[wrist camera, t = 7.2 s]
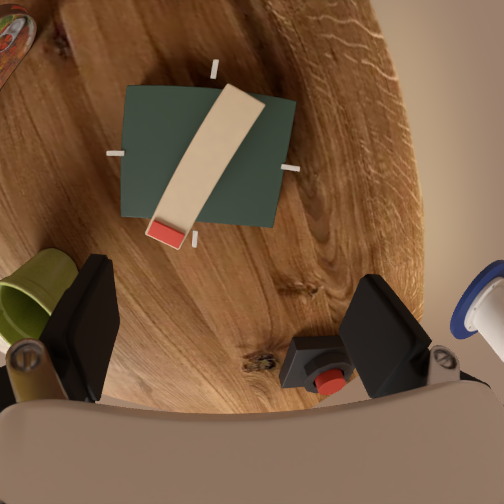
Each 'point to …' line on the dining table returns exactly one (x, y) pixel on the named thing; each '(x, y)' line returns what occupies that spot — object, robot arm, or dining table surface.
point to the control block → (314, 361)
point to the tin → (14, 37)
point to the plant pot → (34, 294)
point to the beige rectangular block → (203, 165)
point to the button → (330, 381)
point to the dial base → (178, 140)
